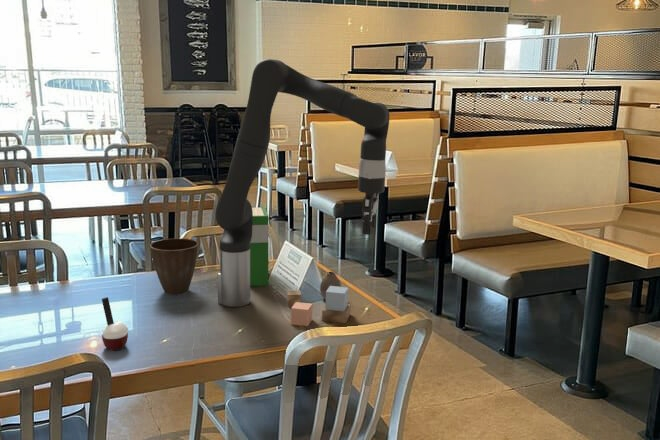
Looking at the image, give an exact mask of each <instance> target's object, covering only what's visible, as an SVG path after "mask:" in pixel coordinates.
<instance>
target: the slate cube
mask: <svg viewBox="0 0 660 440" xmlns="http://www.w3.org/2000/svg"><path fill="white" fill-rule="evenodd" d="M348 301H349V287H345V286H342V287H338V286H330V287H329V288H328V289H327V291H326V300H325V305H326V306H324V307H325V310H334V311H343V312H344V311H345V309H346V307H347V305H348V304H349V302H348Z"/></svg>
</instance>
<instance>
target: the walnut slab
mask: <svg viewBox="0 0 660 440" xmlns="http://www.w3.org/2000/svg"><path fill="white" fill-rule="evenodd" d="M325 306H326V304H325ZM325 306H324V307H323V309H322V311H321V321H323V322H331V323H341V324H347V322H348V320H349V317H350V315H351V304H350V303H348V305H347V307H346V309H345V311H344V312H343V311H334V310H325Z"/></svg>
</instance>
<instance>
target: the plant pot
mask: <svg viewBox="0 0 660 440" xmlns="http://www.w3.org/2000/svg"><path fill="white" fill-rule="evenodd" d="M149 248H150V252H151V253H150V254H151V257H152V262H153V265H154V269H155V272H156V274H157V278H158V280H159V283H160V285H161V287H162V289H163V292H164V294H166V295H169V296H179V295H184V294H186V293H188V292H189V289H190V287H191V284H192V279H193V276H194V272H195V267H196V264H197V257H198V249H199V243H198V241H197V240H195V239H190V238H167V239H166V238H165V239H161V240H156V241H153V242H151V243H150V245H149Z"/></svg>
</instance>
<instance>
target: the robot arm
mask: <svg viewBox="0 0 660 440" xmlns="http://www.w3.org/2000/svg"><path fill="white" fill-rule="evenodd" d="M278 93H283V94H286V95H291V96H295V97H299V98H300V99H303V100H306V101H308V102H310V103H311V104H313V105H315V106H316V107H318V108H321V109H322V110H324V111H327V112H329V113H332V114H334V115H337V116H339V117H342V118H346V119H348V120H350V121H352V122H353V123H356V124H357V125H359V126H362V127H364V132H363V133H364V134H363V137H362V140H361V144H360V158H359V165H358V182H357V190H358V191H359V192H360V193H364V194H365V196H364V197H363V198H362V207H361V209H362V210H361V219H360V220H361V221H362V234H363V235H367V236H369V235H371V233H372V232H371V231H372V229H373V228H375V225H376V215H377V211H378V207H379V206H378V204H379V194H382V193H384V192H385V188H386V170H387V167H386V154H387V153H386V152H387V138H388V131H389V126H390V111H389V108H388V107H387V105H385V104H384V103H381V102H372V101H369V100H366V99H363V98H362V97H361V98H360V97H358V96H357V95H356V94H355V93H352V92H350V91H347V90H345V89H342V88H340V87H337V86H334V85H331V84H328V83H325V82H323V81H320V80H317V79H314V78H312V77H309V76H307V75H306V74H303V73H302V72H299V71H298V70H296V69H294V68H292V67H291V66H289V65H288V64H287V63H285V62H283V61H281V60H278V59H271V58H266V59H263V60H261V61H259V62H258V63H257V64H256V65H255V67H254V69H253V72H252V76H251V80H250V87H249V94H248V100H247V104H246V108H245V111H244V114H243V118H242V121H241V124H240V128H239V132H238V134H237V138H236V142H235V146H234V149H233V152H232V153H233V154H232V157H231V162H230V166H229V168H228V172H227V177H226V181H225V184H224V187H223V190H222V193H221V195H220V198H219V200H218V202H217V205H216V208H215V211H214V213H215V214H214V216H215V221H216V222H217V224H218V226H219V227H220V228H221V229H223V233H222V236H221V237H220V240H219V273H218V274H217V304H219V305H220V304H221V305H222V306H226V307H230V308H231V307H233V308H237V307H238V308H239V307H243V306H244V307H245V306H247V305H249V304H250V303H251V286H250V242H251V239H252V227H253V211H252V208H253V207H252V204H251V202H250V201H249V200H248V199H247V198H248V195H249V192H250V189H251V187H252V185H253V183H254V181H255V179H256V177H257V176H258V174H259V172H260V171H261V168H262V167H263V164H264V162H265V159H266V155H267V152H268V148H269V145H270V139H271V115H272V110H273V107H274V104H275V102H276V98H277V96H278Z"/></svg>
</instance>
